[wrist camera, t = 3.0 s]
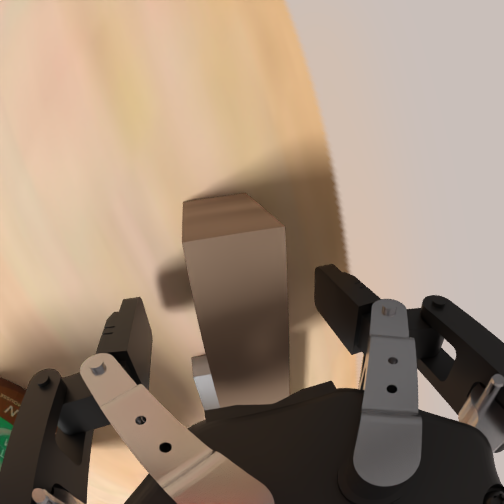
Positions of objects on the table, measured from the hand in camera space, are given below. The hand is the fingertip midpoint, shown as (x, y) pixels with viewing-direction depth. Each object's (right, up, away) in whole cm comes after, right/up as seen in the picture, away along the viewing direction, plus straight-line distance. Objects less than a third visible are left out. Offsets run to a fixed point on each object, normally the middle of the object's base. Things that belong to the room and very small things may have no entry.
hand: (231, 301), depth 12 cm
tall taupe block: (0, -2, +2) cm, 3 cm away
